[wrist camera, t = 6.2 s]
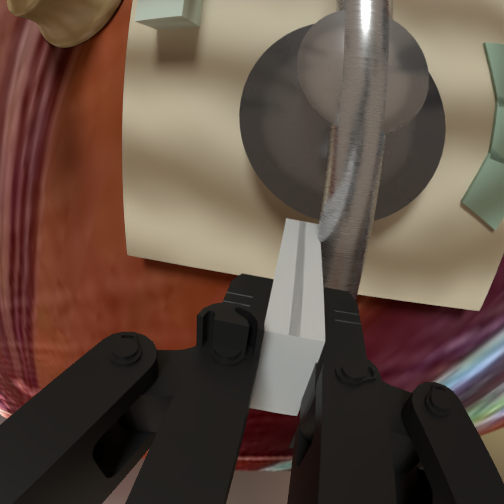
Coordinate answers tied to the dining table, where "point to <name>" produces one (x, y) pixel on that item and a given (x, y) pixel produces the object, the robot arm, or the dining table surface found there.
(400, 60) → the lever
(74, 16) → the hand bell
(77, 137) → the dining table surface
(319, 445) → the robot arm
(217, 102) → the stand
